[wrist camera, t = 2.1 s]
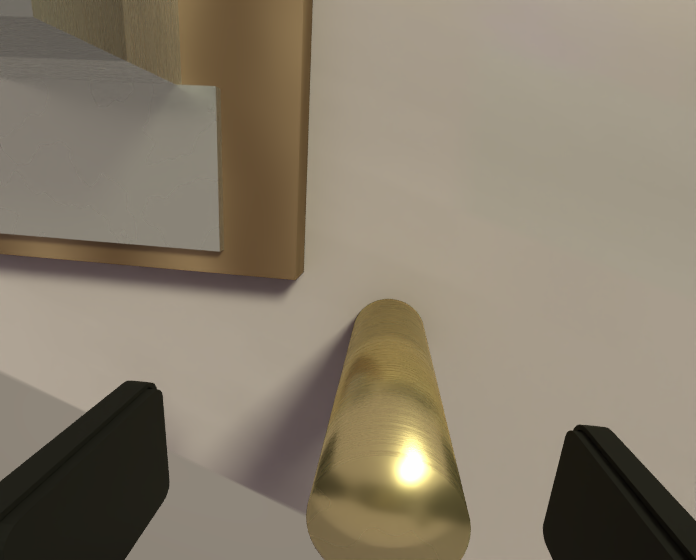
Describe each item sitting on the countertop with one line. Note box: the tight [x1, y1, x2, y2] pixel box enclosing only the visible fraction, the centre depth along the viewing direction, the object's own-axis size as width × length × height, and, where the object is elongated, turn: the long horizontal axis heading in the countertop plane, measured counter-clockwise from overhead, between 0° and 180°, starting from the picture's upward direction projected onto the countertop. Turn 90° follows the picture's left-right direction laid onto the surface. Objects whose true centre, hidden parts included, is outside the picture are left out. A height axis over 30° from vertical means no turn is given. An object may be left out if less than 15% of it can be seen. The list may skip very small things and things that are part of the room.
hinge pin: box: [306, 299, 471, 560], centre depth 12 cm, size 3×3×10 cm
